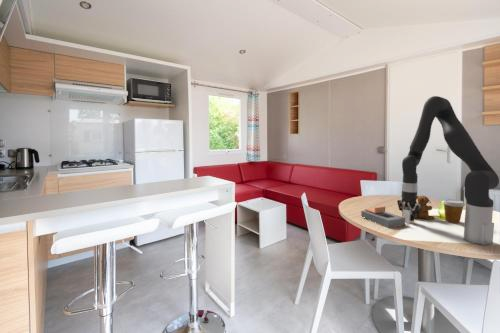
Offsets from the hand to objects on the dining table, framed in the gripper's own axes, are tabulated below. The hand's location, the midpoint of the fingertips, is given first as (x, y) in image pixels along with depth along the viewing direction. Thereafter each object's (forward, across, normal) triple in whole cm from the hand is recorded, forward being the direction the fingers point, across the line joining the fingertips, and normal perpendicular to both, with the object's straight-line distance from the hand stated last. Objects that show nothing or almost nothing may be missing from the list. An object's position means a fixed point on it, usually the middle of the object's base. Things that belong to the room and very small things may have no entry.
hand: (408, 219), depth 144 cm
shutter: (-3, +12, +12) cm, 18 cm away
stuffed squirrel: (+2, +4, -14) cm, 14 cm away
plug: (+2, 0, 0) cm, 2 cm away
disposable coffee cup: (+2, -9, -23) cm, 25 cm away
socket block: (+1, +7, +12) cm, 14 cm away
